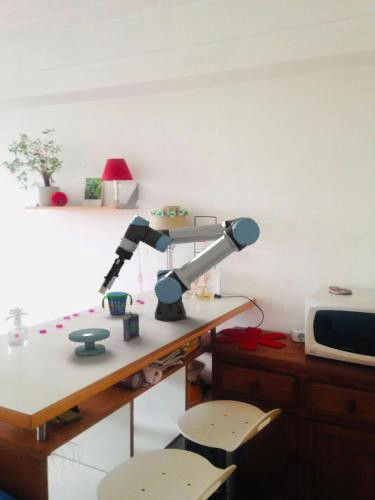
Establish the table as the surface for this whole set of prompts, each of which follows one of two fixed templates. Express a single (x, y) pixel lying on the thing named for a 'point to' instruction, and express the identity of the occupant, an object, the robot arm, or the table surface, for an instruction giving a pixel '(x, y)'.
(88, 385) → the table surface
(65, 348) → the table surface
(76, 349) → the cake stand
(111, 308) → the snack cup
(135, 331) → the flask
